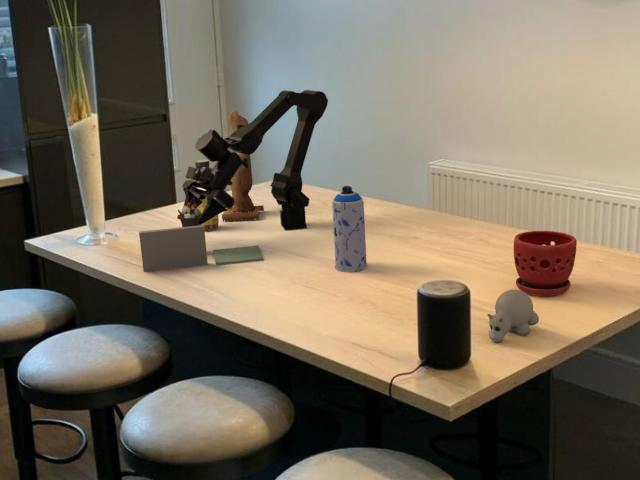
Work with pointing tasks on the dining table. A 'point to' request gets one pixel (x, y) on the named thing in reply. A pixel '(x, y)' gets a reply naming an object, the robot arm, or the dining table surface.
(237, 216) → the bird sculpture
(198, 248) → the partition board
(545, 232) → the plant pot
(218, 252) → the rubber mat
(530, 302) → the chubby cartoon animal
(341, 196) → the aerosol can
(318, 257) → the dining table surface
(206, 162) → the sauce bottle
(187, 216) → the sundae
